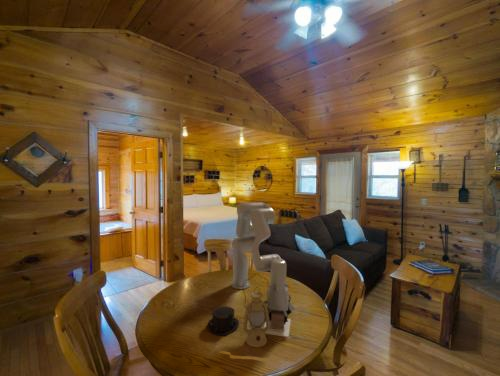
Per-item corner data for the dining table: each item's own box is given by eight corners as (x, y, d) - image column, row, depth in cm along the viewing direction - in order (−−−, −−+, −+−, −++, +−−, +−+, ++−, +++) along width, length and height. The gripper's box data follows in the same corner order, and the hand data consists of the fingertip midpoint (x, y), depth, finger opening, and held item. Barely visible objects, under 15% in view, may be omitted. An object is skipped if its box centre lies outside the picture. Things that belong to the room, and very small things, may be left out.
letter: (267, 316, 127) (267, 316, 127) (290, 319, 124) (290, 319, 124) (262, 333, 113) (262, 332, 113) (288, 337, 110) (288, 336, 110)
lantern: (244, 349, 102) (244, 278, 101) (241, 335, 112) (241, 269, 111) (272, 347, 104) (272, 277, 103) (267, 332, 113) (267, 268, 112)
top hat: (203, 334, 113) (203, 311, 112) (213, 316, 128) (212, 296, 127) (235, 337, 111) (235, 314, 110) (241, 318, 126) (241, 298, 125)
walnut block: (270, 319, 122) (271, 307, 121) (283, 320, 121) (283, 308, 121) (271, 327, 116) (271, 314, 115) (284, 327, 115) (284, 315, 115)
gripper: (296, 284, 119) (296, 320, 120) (261, 280, 123) (261, 314, 124) (296, 291, 112) (295, 329, 113) (258, 286, 116) (258, 323, 117)
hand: (277, 321), depth 118 cm, fingers closed on walnut block, 6 cm apart
